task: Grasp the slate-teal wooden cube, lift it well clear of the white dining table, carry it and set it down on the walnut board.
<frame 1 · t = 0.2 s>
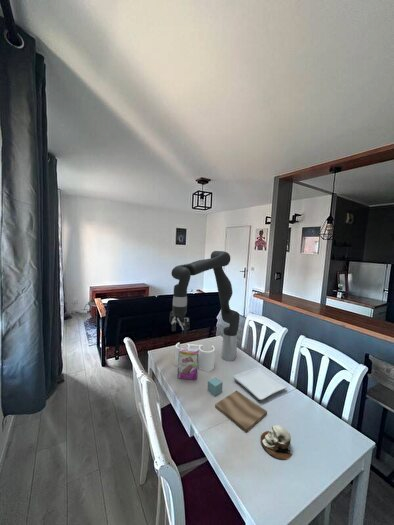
hand: (178, 333, 119), 29 cm above the table, fingers open, 8 cm apart
slate cube: (214, 391, 117), on the table
walnut board: (240, 410, 104), on the table
candy bar box: (187, 377, 128), on the table
skull: (276, 445, 87), on the table
bracket: (194, 365, 140), on the table
salad plate: (258, 386, 123), on the table
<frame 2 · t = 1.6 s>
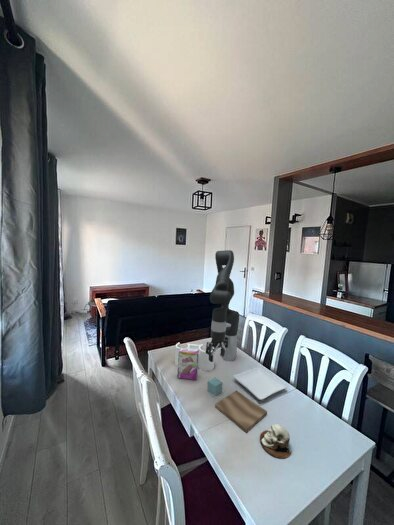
hand: (216, 358, 115), 18 cm above the table, fingers open, 8 cm apart
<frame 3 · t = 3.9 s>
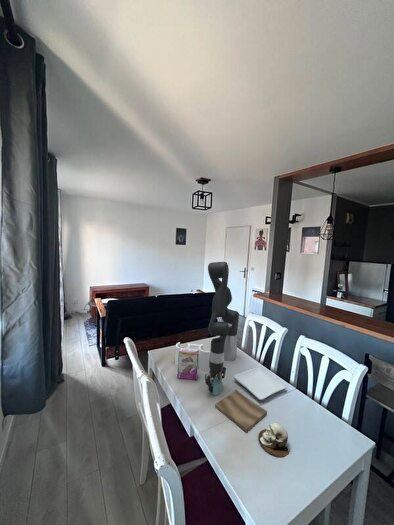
hand: (214, 389, 117), 1 cm above the table, fingers closed on slate cube, 5 cm apart
slate cube: (214, 391, 117), on the table, touching gripper
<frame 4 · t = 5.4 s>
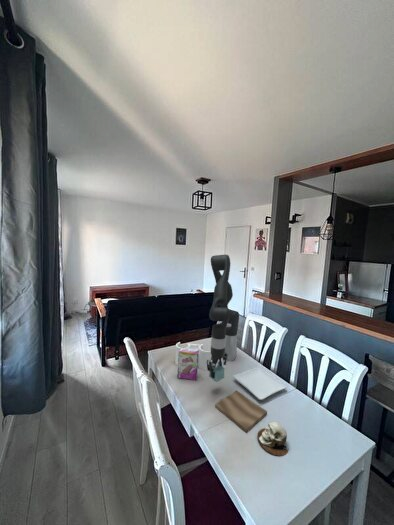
hand: (216, 375, 116), 9 cm above the table, fingers closed on slate cube, 5 cm apart
slate cube: (216, 377, 116), point 8 cm above the table, touching gripper
when the fingers open (4 cm above the table, at t = 11.3 s): slate cube drops 1 cm, resting on walnut board.
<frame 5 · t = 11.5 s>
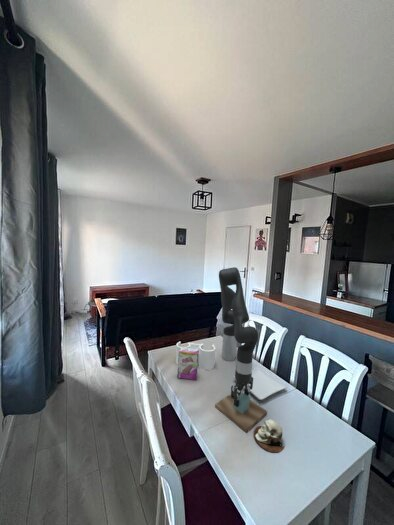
hand: (241, 402, 104), 4 cm above the table, fingers open, 7 cm apart
slate cube: (240, 407, 104), point 1 cm above the table, touching walnut board
skull: (268, 439, 90), on the table
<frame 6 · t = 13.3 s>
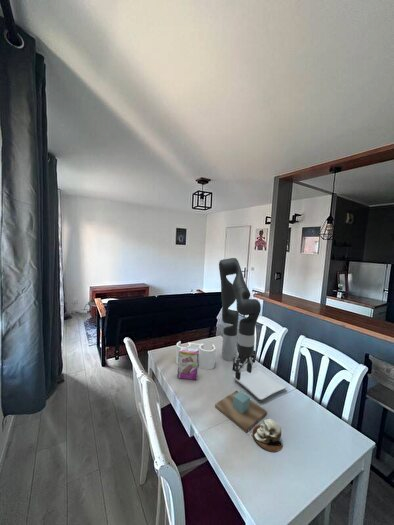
hand: (243, 375, 102), 18 cm above the table, fingers open, 8 cm apart
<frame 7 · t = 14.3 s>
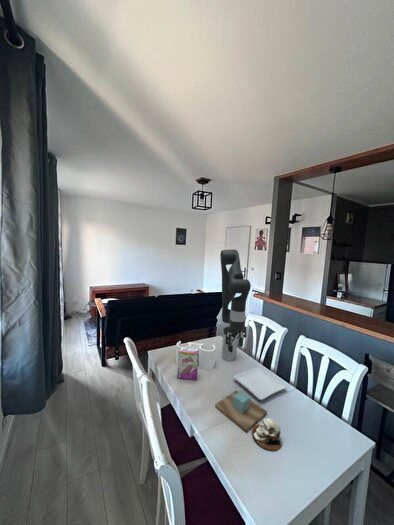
hand: (235, 348, 112), 25 cm above the table, fingers open, 8 cm apart
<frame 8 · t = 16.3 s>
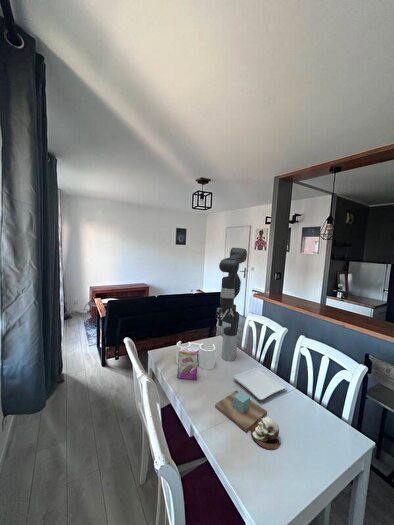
hand: (225, 324, 123), 33 cm above the table, fingers open, 8 cm apart
at the end: slate cube inside the target area on the walnut board (0.1 cm from its centre), point 1.5 cm above the walnut board's base; slate cube tilted 0°; the gripper is holding nothing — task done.
